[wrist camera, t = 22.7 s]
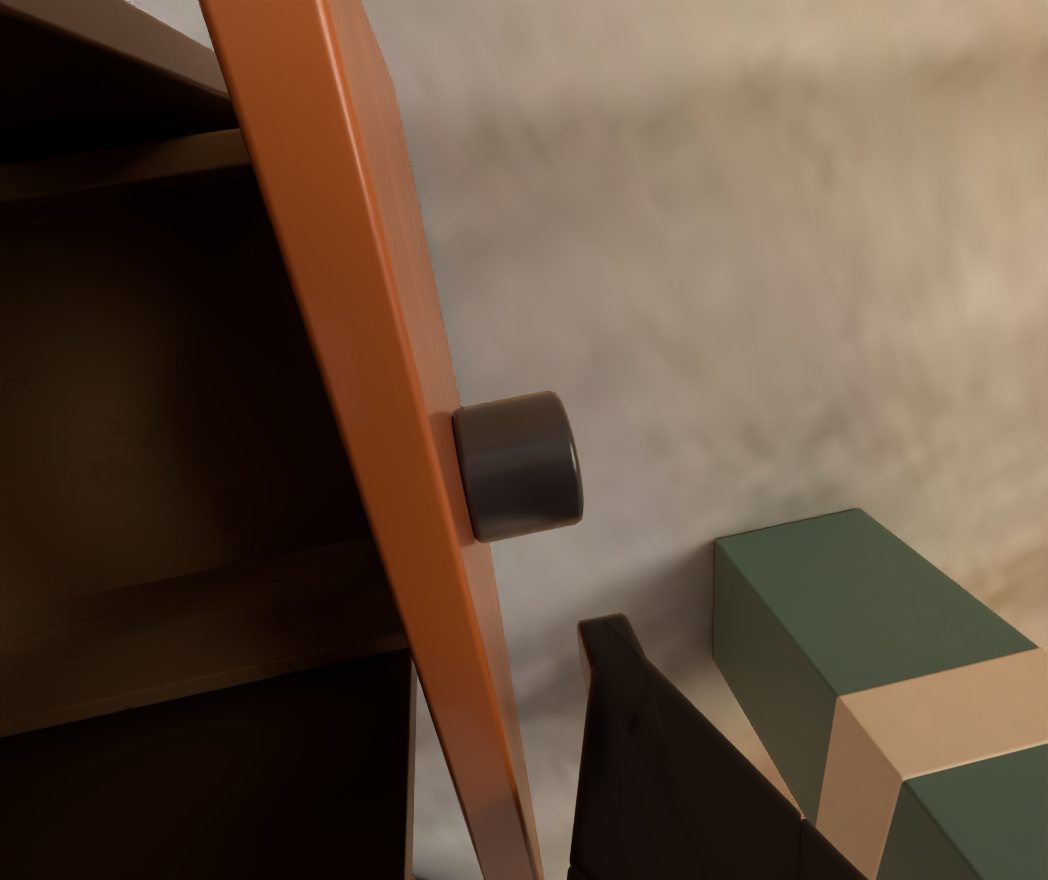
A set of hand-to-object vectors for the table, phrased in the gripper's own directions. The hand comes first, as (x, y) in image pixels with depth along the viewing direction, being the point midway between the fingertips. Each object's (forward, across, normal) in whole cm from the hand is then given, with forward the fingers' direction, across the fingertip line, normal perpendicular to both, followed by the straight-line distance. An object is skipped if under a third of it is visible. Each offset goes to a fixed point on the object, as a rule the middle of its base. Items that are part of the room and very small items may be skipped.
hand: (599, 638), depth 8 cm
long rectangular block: (+7, -7, +7) cm, 12 cm away
